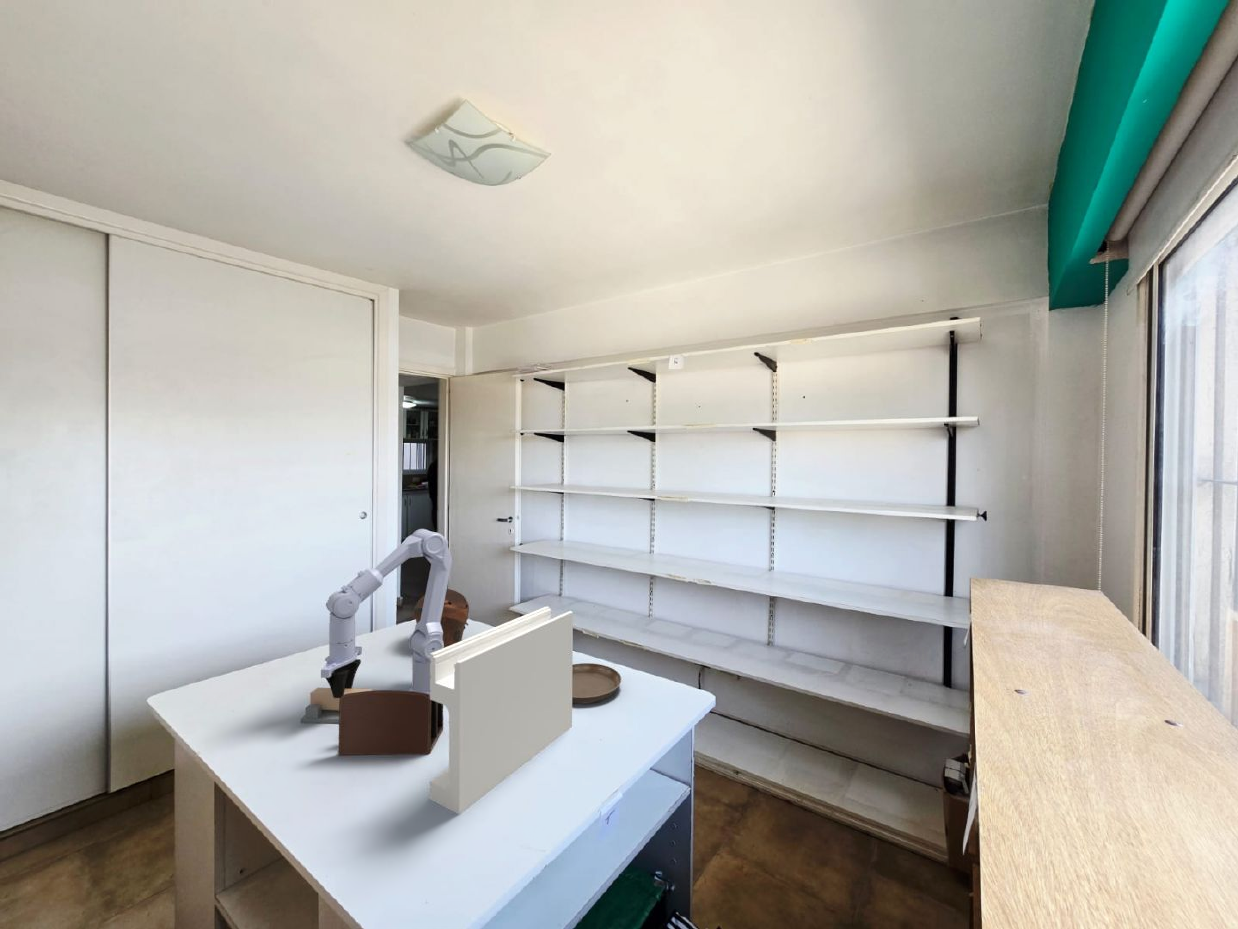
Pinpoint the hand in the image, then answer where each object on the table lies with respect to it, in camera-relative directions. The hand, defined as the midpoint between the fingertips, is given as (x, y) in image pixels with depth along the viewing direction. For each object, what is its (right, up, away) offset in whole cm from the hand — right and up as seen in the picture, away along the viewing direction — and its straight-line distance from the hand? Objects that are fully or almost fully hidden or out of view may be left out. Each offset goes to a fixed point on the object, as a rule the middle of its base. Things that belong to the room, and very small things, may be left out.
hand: (342, 694), depth 127 cm
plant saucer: (+59, -6, +15) cm, 62 cm away
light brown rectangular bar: (0, -3, 0) cm, 3 cm away
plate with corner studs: (0, -5, 0) cm, 5 cm away
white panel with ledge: (+45, -6, -17) cm, 49 cm away
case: (+9, -5, +45) cm, 46 cm away
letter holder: (+18, -6, -12) cm, 22 cm away
